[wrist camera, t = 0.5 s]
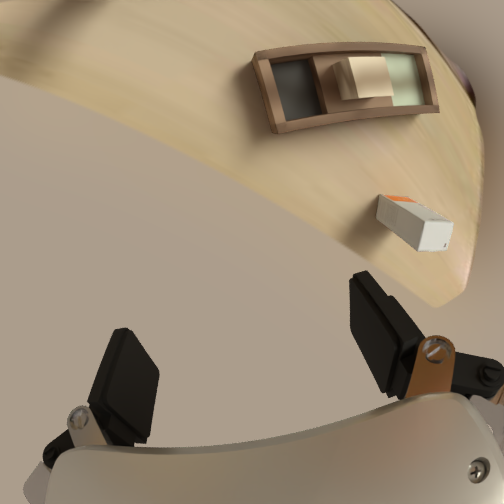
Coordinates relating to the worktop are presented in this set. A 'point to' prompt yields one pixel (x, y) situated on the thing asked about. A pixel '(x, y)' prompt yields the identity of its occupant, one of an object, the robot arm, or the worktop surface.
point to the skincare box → (414, 223)
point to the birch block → (363, 77)
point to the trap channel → (326, 88)
